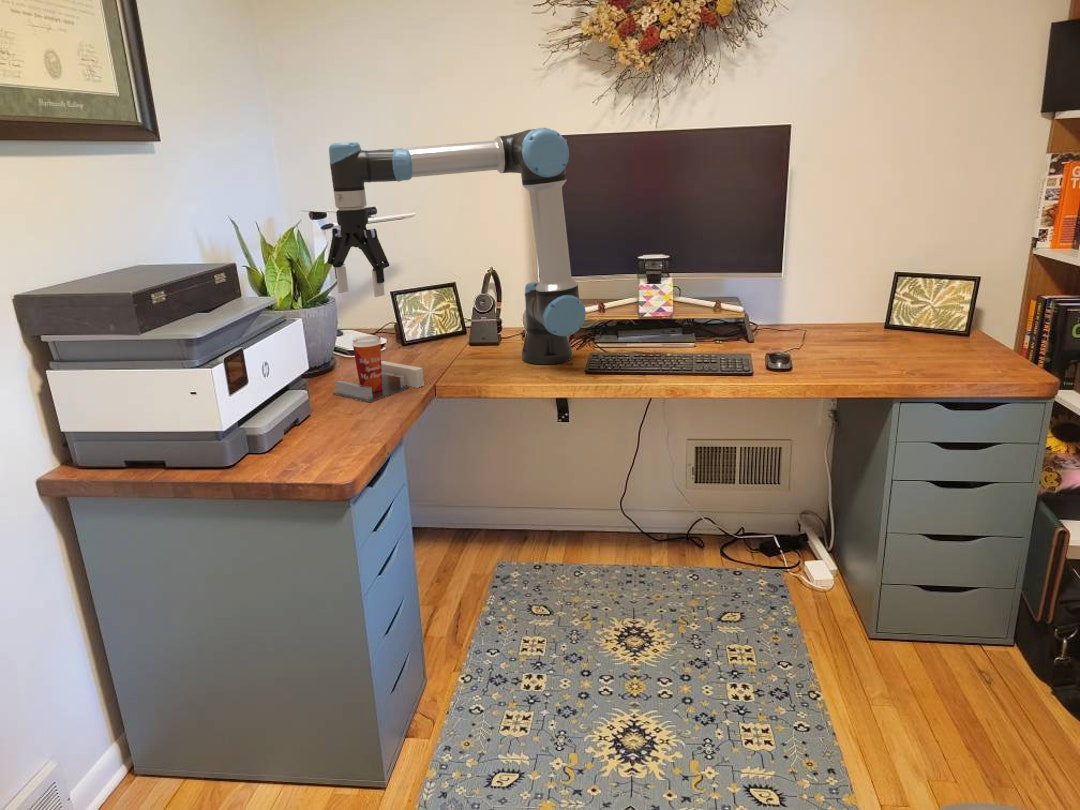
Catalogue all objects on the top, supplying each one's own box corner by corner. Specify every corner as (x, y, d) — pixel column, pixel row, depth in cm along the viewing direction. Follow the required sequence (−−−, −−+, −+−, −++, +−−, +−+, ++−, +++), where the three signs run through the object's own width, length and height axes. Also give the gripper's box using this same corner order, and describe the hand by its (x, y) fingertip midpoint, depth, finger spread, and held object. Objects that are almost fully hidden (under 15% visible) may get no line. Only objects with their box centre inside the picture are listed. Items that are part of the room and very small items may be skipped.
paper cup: (364, 396, 199) (358, 343, 195) (352, 389, 205) (346, 338, 201) (391, 389, 204) (386, 338, 199) (379, 383, 209) (373, 333, 205)
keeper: (409, 388, 206) (407, 375, 205) (369, 402, 195) (368, 389, 194) (373, 381, 214) (371, 368, 213) (333, 394, 203) (331, 381, 202)
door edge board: (424, 385, 208) (422, 368, 206) (417, 388, 206) (416, 370, 204) (378, 376, 218) (376, 359, 216) (371, 378, 216) (369, 361, 214)
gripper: (306, 209, 194) (317, 292, 201) (374, 210, 180) (384, 300, 186) (330, 206, 199) (340, 288, 206) (398, 207, 185) (406, 295, 192)
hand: (361, 294), depth 196 cm, fingers open, 13 cm apart
